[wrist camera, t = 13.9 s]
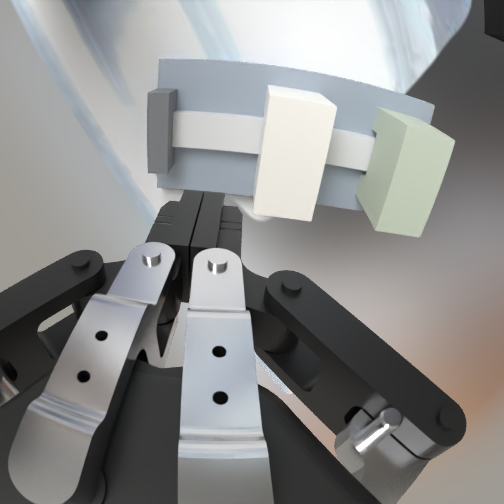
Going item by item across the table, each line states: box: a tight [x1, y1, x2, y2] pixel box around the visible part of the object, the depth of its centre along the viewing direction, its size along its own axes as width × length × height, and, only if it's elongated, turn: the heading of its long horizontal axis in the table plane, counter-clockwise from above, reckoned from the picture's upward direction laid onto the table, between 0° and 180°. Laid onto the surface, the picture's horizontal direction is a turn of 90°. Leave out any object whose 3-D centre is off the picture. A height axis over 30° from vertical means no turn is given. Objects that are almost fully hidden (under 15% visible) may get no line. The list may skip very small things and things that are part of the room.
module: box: [253, 85, 337, 221], centre depth 27 cm, size 5×10×8 cm, turn 173°
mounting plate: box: [147, 59, 455, 237], centre depth 27 cm, size 28×14×9 cm, turn 84°
